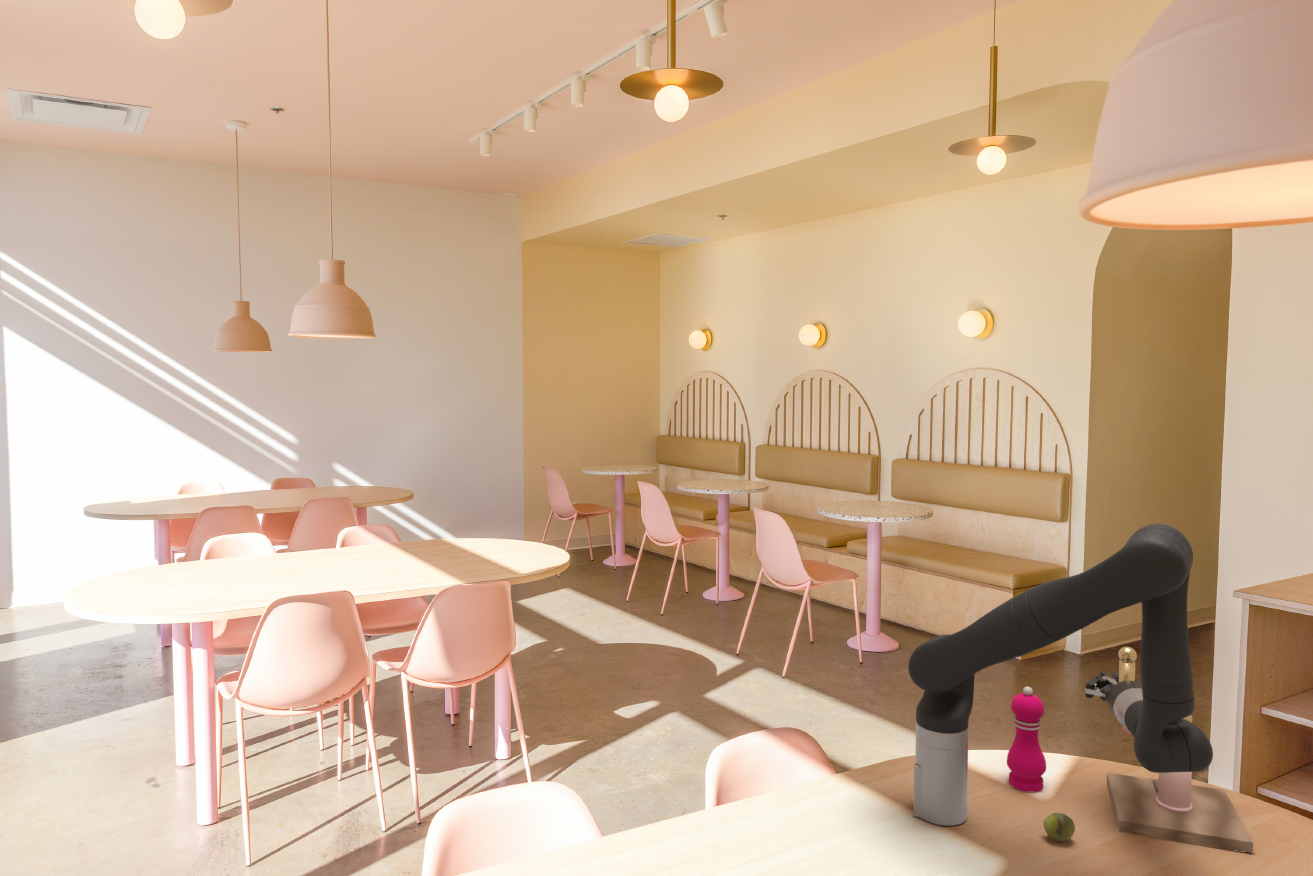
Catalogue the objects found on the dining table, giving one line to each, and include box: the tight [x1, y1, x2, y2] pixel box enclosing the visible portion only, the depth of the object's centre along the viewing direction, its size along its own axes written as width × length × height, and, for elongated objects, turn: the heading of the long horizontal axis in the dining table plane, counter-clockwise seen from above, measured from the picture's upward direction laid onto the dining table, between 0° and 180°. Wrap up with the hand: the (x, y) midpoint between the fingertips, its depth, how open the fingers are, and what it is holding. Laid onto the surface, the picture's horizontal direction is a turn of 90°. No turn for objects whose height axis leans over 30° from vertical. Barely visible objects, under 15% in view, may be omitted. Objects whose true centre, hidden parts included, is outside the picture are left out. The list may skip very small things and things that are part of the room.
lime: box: [1043, 812, 1076, 842], centre depth 149 cm, size 4×5×5 cm
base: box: [1106, 772, 1254, 854], centre depth 157 cm, size 20×20×3 cm
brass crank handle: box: [1118, 646, 1193, 735], centre depth 160 cm, size 16×3×27 cm, turn 103°
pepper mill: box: [1006, 686, 1047, 793], centre depth 168 cm, size 7×7×20 cm
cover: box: [1156, 772, 1193, 813], centre depth 156 cm, size 6×6×12 cm
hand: (1107, 676), depth 168 cm, fingers closed
